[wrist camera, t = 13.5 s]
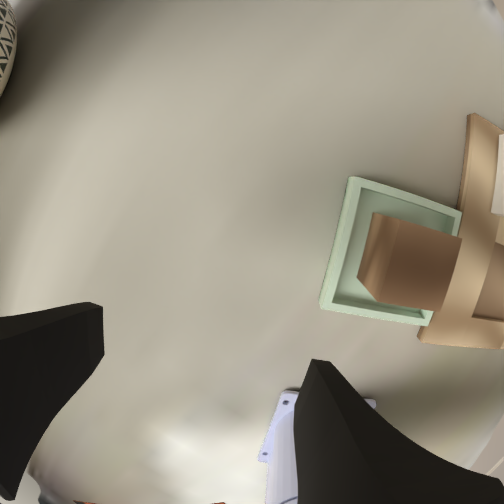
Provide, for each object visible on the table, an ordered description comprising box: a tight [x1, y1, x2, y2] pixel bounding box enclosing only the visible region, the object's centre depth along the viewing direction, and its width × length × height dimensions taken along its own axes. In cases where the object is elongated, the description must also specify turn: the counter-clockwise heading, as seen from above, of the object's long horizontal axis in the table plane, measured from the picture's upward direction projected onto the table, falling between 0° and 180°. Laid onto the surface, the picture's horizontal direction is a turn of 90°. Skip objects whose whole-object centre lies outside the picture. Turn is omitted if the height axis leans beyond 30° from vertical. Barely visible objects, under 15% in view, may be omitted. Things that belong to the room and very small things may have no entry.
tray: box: [318, 176, 462, 326], centre depth 17 cm, size 8×8×2 cm
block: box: [356, 212, 462, 312], centre depth 15 cm, size 4×4×4 cm
